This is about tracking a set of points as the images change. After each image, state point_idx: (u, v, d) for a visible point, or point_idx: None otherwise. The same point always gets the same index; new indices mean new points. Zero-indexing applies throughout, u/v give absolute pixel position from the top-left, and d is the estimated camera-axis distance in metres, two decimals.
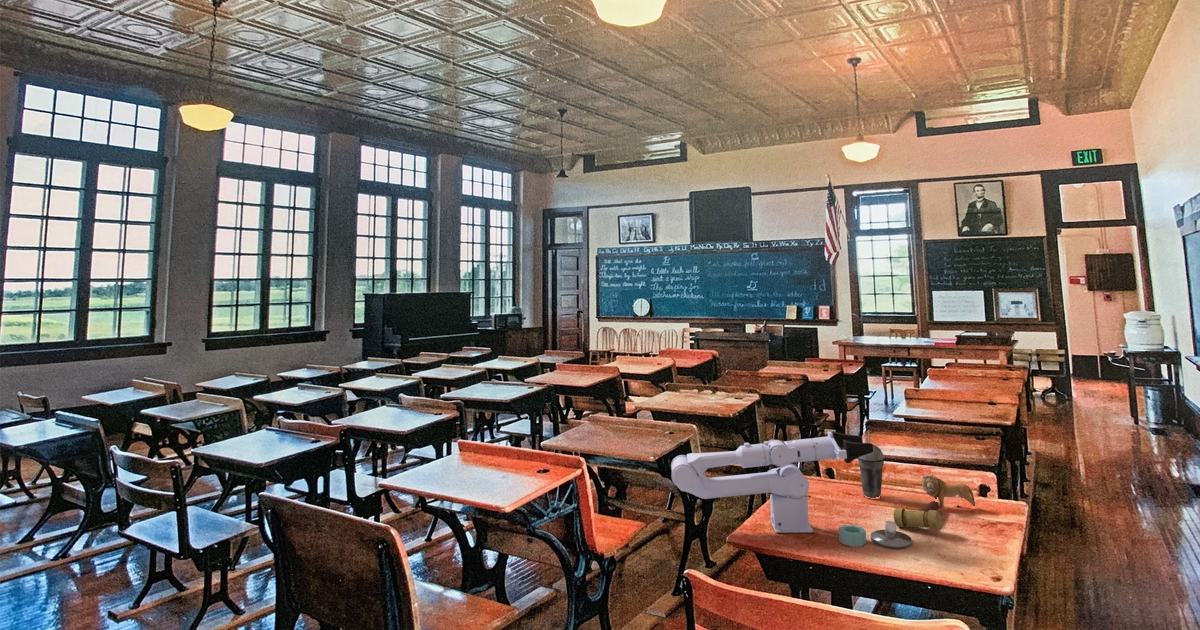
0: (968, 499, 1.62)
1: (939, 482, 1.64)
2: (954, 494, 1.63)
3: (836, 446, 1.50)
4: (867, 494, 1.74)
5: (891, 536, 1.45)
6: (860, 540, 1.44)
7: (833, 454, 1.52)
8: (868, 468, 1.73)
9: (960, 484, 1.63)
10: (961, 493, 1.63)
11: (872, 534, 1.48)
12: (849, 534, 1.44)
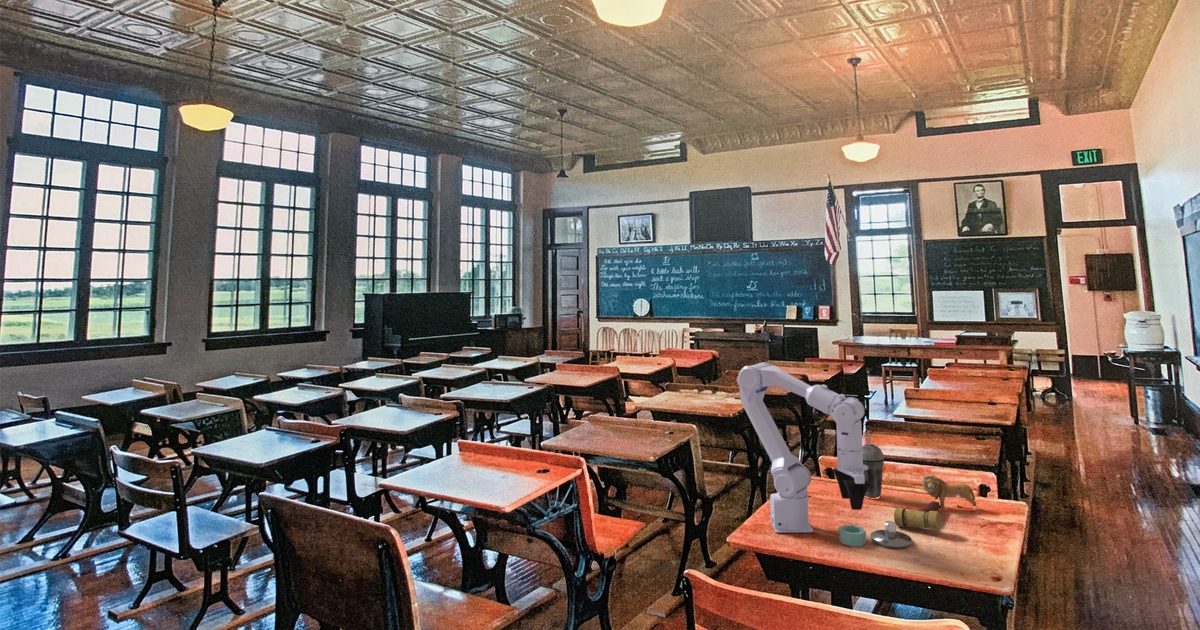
0: (969, 499, 1.62)
1: (940, 482, 1.64)
2: (955, 494, 1.63)
3: None
4: (867, 494, 1.74)
5: (891, 536, 1.45)
6: (860, 540, 1.44)
7: (849, 469, 1.43)
8: (868, 468, 1.73)
9: (961, 484, 1.63)
10: (962, 493, 1.62)
11: (872, 534, 1.48)
12: (849, 534, 1.44)
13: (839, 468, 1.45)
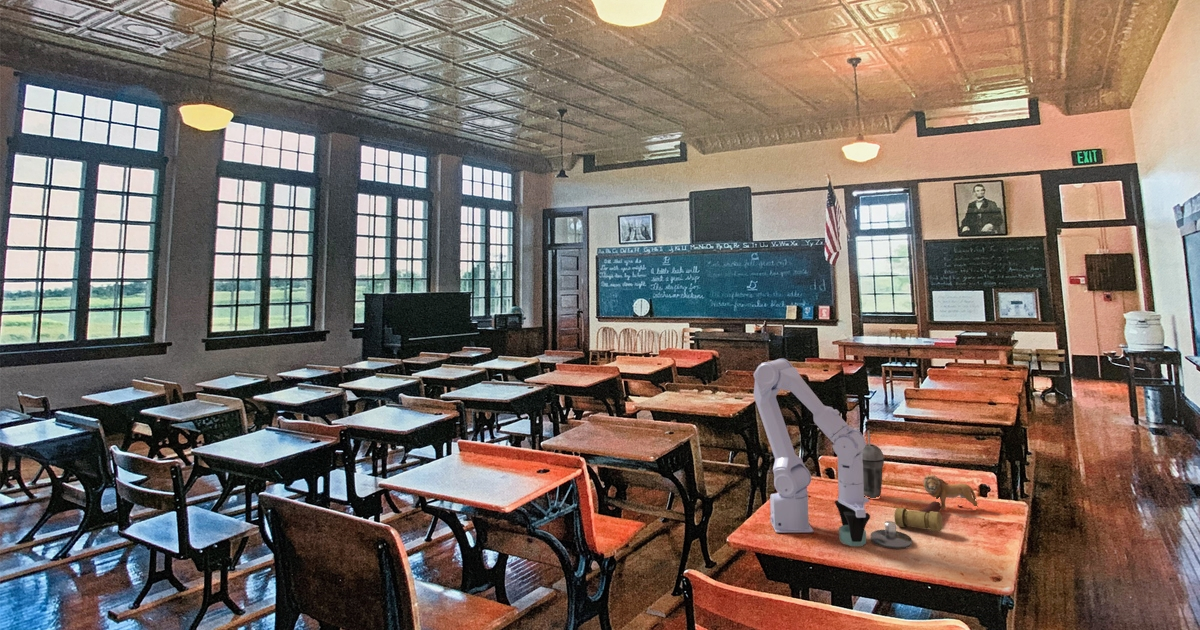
0: (970, 500, 1.62)
1: (941, 483, 1.64)
2: (956, 495, 1.63)
3: None
4: (867, 494, 1.74)
5: (891, 536, 1.45)
6: None
7: (850, 502, 1.44)
8: (868, 468, 1.73)
9: (962, 485, 1.63)
10: (963, 494, 1.62)
11: (872, 534, 1.48)
12: (849, 534, 1.44)
13: (840, 500, 1.46)
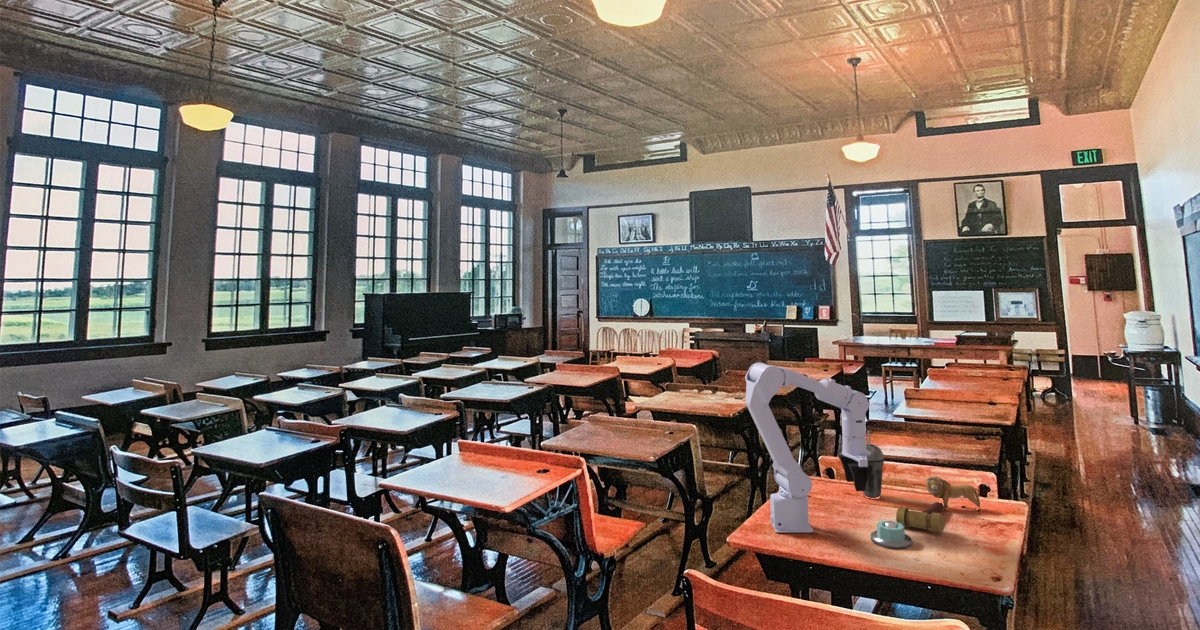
0: (973, 500, 1.61)
1: (943, 483, 1.63)
2: (959, 495, 1.63)
3: (866, 457, 1.53)
4: (867, 494, 1.74)
5: None
6: (899, 536, 1.43)
7: (853, 454, 1.56)
8: None
9: (965, 485, 1.63)
10: (966, 494, 1.62)
11: (872, 534, 1.48)
12: (888, 530, 1.43)
13: (844, 453, 1.58)
